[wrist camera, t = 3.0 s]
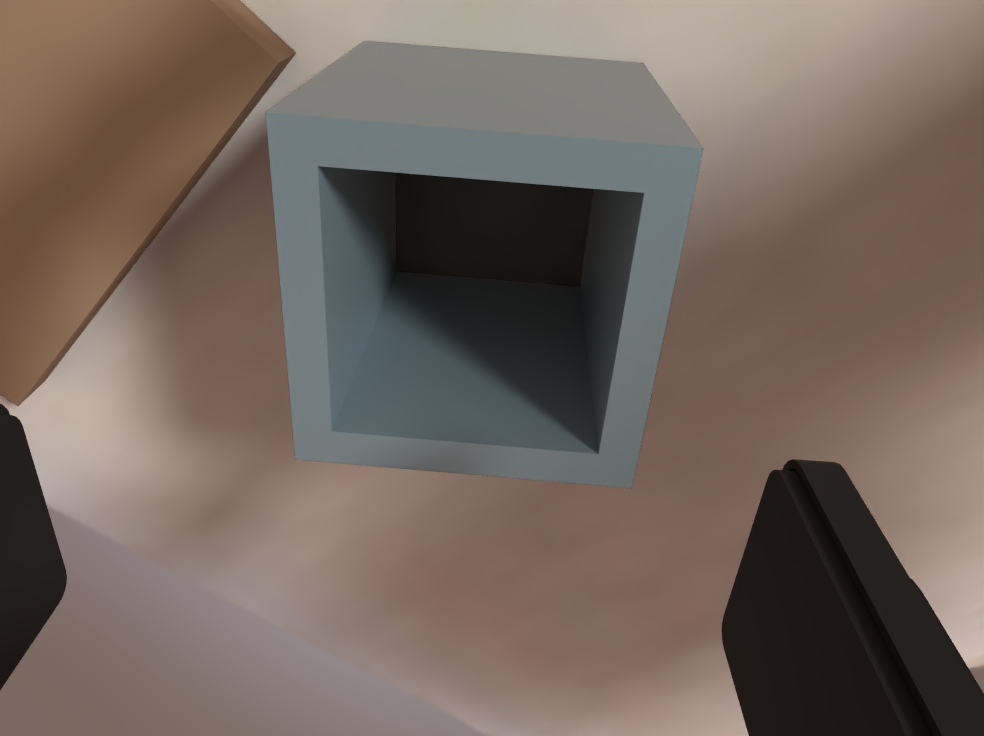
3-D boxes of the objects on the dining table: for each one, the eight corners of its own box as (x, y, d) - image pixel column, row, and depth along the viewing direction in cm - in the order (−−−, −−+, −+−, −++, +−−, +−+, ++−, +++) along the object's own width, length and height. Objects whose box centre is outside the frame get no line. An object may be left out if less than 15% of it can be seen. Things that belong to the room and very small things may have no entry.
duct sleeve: (643, 63, 19) (703, 148, 12) (603, 313, 22) (632, 488, 16) (364, 40, 19) (265, 112, 12) (368, 293, 23) (294, 459, 16)
